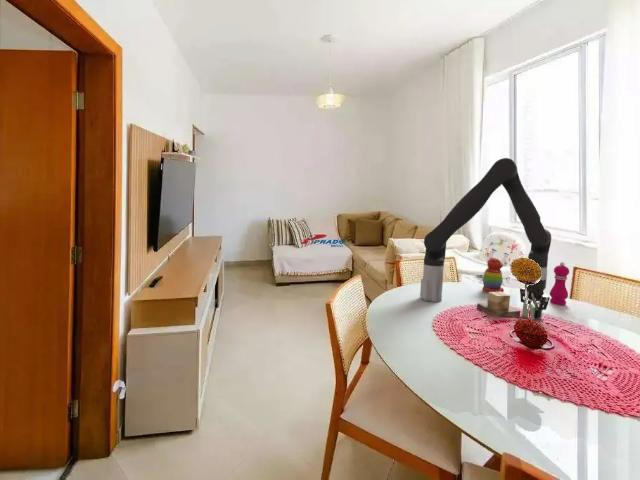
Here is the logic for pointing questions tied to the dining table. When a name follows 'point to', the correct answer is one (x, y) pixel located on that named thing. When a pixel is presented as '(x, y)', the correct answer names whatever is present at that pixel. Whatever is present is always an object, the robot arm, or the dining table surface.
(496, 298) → the oak cube
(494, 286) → the stacking bear
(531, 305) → the green cube
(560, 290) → the pepper mill
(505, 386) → the dining table surface
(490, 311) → the base board
